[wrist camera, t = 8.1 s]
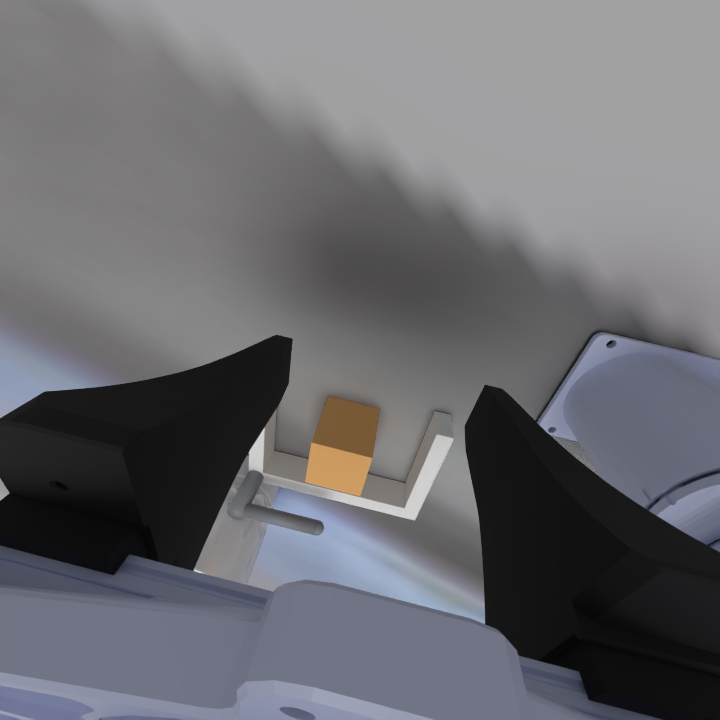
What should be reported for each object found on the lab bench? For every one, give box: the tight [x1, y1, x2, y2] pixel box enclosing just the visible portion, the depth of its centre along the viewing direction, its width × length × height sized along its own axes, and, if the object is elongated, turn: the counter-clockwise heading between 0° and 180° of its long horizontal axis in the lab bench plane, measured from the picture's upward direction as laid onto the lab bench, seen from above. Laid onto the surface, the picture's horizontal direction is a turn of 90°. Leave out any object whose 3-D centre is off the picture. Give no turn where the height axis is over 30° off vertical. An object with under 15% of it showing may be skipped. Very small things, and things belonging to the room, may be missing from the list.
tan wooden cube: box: [305, 396, 379, 496], centre depth 23 cm, size 4×4×5 cm
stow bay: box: [227, 409, 454, 535], centre depth 24 cm, size 14×10×6 cm
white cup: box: [194, 456, 280, 585], centre depth 27 cm, size 8×8×10 cm
